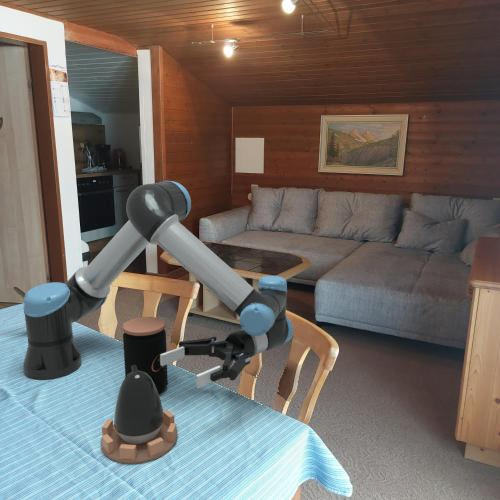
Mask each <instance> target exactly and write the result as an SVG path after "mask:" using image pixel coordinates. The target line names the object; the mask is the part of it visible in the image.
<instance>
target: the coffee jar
mask: <svg viewBox="0 0 500 500" xmlns="http://www.w3.org/2000/svg"><path fill="white" fill-rule="evenodd" d="M165 328H166V321H165V320H164V319H163V318H160V317H156V316H140V317H135V318H134V317H133V318H132V319H129V320H127V321H125V322H124V323H123V324H122V331H123V332H124V333H123V334H122V341H123V342H122V343H123V344H122V345H123V357H124V374H125V377H126V376H127V375H128V374H129V373H130V372H132V365H136V366H137V370H141V371H144V372H146V373H147V374H148V375H149V376H150V377H151V379H152V380H153V382H154V384H155V386H156V389H157V391H158V394H159V396H160V395H161V394H163V393H164V391H165V390H166V389H167V386H168V384H169V382H168V381H169V379H168V364H167V365H164V366H161V365H160V354H163V353H166V352H168V351H167V350H168V349H167V333H166V329H165ZM125 377H124V378H125Z"/></svg>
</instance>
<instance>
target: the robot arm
mask: <svg viewBox="0 0 500 500" xmlns="http://www.w3.org/2000/svg"><path fill="white" fill-rule="evenodd" d="M125 205H126V206H125V208H126V216H127V218H128V221H127V222H126V223H125V224H124V225H123V226H122V227H121V228H120V230H118V231H117V233H116V234H114V236H113V237H112V238H111V240H110V241H108V243H107V244H105V246H104V247H103V248H102V250H100V252H99V253H98V254H97V255H96V256H95V258H94V259H93V260H92V261H91V262H90V263H89V264H88V265H87V266H83V267H80V268H78V269H77V270H76V271H75V272H74V273H73V275H72V276H71V277H70V278H69V279H68V280H67V281H66V282H64V283H63V282H58V281H57V282H46V283H45V284H44V283H43V284H39V285H36V286H34V287H32V288H31V289H29V290H27V291H26V292H25V297H24V298H23V313H24V312H25V314H24V319H25V327H26V337H27V348H26V353H25V358H24V360H23V373H24V375H25V376H26V377H27V378H31V379H33V380H34V379H35V380H52V379H56V378H60V377H64V376H67V375H69V374H71V373H73V372H75V371H76V370H78V369H79V368H80V367H81V365H82V355H81V354H82V353H81V352H80V350H79V348H78V345H77V343H76V341H75V339H74V335H73V334H74V333H73V323H75V322H77V321H79V320H80V319H82V318H83V317H85V316H87V315H90V314H92V313H94V312H96V311H97V310H99V309H100V308H101V307H102V306H103V305H104V304H105V303H106V301H107V298H108V295H109V294H110V292H111V287H110V286H111V285H112V284H113V283H114V282H115V280H116V279H118V278H119V276H120V275H121V274H122V273H124V271H125V270H126V269H127V268H128V267H129V266H130V264H131V263H132V262H133V261H134V260H135V259H136V258H137V257H138V256H139V255H140V254H141V253H142V252H143V251H144V250H145V248H146V247H147V246H148V245H149V244H150V245H152V246H154V245H158V246H159V248H161V249H162V250H164V251H165V252H166V253H167V254H168V255H169V256H171V258H173V260H175V261H176V262H177V263H178V264H179V265H180V266H182V267H183V268H184V270H186V271H187V272H189V274H191V276H193V277H194V278H195V279H197V280H198V281H199V282H200V283H201V284H202V285H203V286H204V287H205V288H206V289H208V290H209V291H210V292H211V293H212V294H213V295H215V296H216V297H217V298H218V299H219V300H220V301H221V302H222V303H224V305H226V306H227V307H228V308H229V309H230V310H231V311H233V313H234V314H235V315H237V317H239V324H240V326H241V328H242V329H239V330H236V331H234V332H231V333H230V334H228V335H227V337H226V338H225V339H224V340H220V341H219V340H217V336H211V337H208V338H200V339H192V340H191V339H190V340H184V341H183V340H182V341H179V342H178V347H177V348H174V349H171V350H169V351H167V352H166V353H163V354H160V365H161V366H164V365H167V366H168V365H169V364H172V363H174V362H177V361H180V360H182V359H185V356H208V357H210V358H219V359H220V360H221V361H223V363H222V366H221V365H217V366H214V367H212V368H210V369H208V370H205V371H202V372H200V373H198V374H196V375H195V387H196V388H198V389H199V388H201V387H204V386H206V385H208V384H211V383H214V382H217V381H219V380H221V379H228V378H229V380H230V381H236V380H237V378H238V376H239V375H240V373H241V372H242V371H243V370H244V368H245V367H246V366H247V365H250V364H251V358H252V357H255V356H257V355H260V354H262V353H264V352H267V351H269V350H272V349H274V348H276V347H280V346H282V345H284V344H286V343H287V342H289V341H290V340H291V339H292V337H293V336H294V332H295V331H294V327H293V324H292V321H291V320H290V318H289V317H287V316H286V315H287V294H288V287H287V285H288V282H287V280H286V279H285V278H284V277H282V276H278V275H266V276H263V277H260V278H259V280H258V286H257V290H256V288H254V287H253V286H252V285H251V284H249V283H248V282H247V280H245V279H244V278H243V277H242V276H241V275H239V274H238V273H237V272H236V271H235V270H234V269H233V268H232V267H231V266H229V265H228V264H227V263H226V262H225V261H224V260H222V259H221V258H220V257H219V256H217V254H216V253H215V252H213V251H212V250H211V249H210V248H209V247H208V246H206V244H205V243H203V242H202V241H201V240H200V239H199V238H197V236H195V235H194V234H193V232H192V231H190V230H188V229H187V228H186V227H185V225H183V224H181V222H182V221H183V220H184V219H185V218H187V216H188V215H189V213H190V212H191V209H192V199H191V196H190V194H189V191H188V190H187V189H186V187H185V186H183V185H182V184H181V183H179V182H177V181H171V180H163V181H160V182H159V181H158V182H155V183H146V184H142V185H138V186H137V187H135V188H134V189H133V190H132V191H131V193H130V194H129V196H128V198H127V201H126V204H125ZM292 335H293V336H292ZM233 361H235V362H234V364H233ZM232 364H233V365H232Z"/></svg>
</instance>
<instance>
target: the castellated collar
mask: <svg viewBox="0 0 500 500" xmlns="http://www.w3.org/2000/svg"><path fill="white" fill-rule="evenodd" d="M163 415H164V420H163V423H162V425H161V428H160V431H159V432H158V434H157V435H156V436H155V437H154V438H153V439H152V440H150V441H148V442H146V443H143V444H130V443H127V442H125V441H124V440H123V439H122V438H121V437H120V436H119V434H118V432H117V430H116V429H115V426H114V419H110V418H107V419H106V420H105V422H104V424H103V425H102V426H101V440H100V447H101V448H100V449H101V451H102V454H103V455H104V456H105V457H106V458H107V459H109V460H110V461H113V462H114V463H118V464H123V465H124V464H125V465H138V464H144V463H148V462H152V461H155V460H156V459H159V458H161V457H163V456H165V455H167V453H169V452H170V451H171V450H172V449H173V448H174V447H175V445H176V443H177V441H178V436H179V435H178V429H177V428H178V427H177V423H175V422H176V421H175V415H174V414H173V413H172V412H171V411H170V410H169V409H165V410H163Z"/></svg>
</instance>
